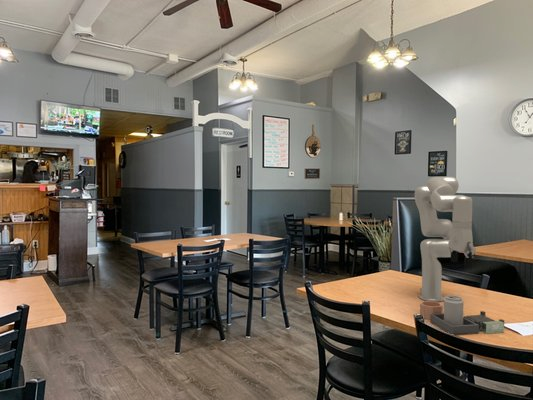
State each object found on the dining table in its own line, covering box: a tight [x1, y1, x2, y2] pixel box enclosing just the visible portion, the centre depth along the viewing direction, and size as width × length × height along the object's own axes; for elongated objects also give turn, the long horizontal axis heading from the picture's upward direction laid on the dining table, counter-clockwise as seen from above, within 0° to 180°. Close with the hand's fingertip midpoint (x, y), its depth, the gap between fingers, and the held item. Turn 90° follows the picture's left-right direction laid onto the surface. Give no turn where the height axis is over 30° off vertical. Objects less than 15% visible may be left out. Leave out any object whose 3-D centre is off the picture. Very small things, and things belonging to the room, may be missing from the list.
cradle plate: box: [463, 314, 496, 328], centre depth 168 cm, size 9×9×2 cm
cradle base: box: [475, 310, 505, 335], centre depth 166 cm, size 15×12×4 cm
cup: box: [419, 300, 444, 321], centre depth 179 cm, size 9×9×6 cm
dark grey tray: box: [429, 312, 480, 336], centre depth 166 cm, size 16×12×4 cm
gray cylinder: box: [443, 294, 464, 326], centre depth 166 cm, size 8×8×12 cm
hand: (461, 264), depth 171 cm, fingers open, 9 cm apart
